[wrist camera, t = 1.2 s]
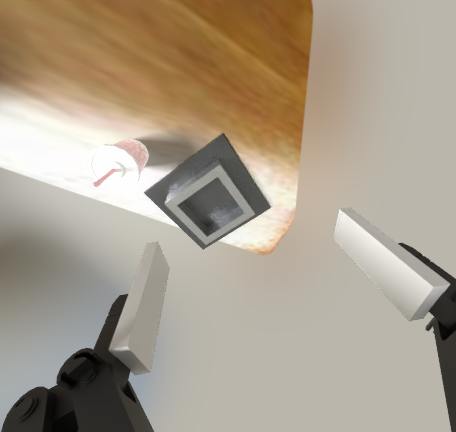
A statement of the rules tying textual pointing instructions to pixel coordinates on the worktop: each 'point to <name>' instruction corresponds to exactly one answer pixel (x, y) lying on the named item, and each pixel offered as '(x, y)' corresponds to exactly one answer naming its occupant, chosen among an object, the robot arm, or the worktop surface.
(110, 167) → the beverage cup
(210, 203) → the socket holder
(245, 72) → the worktop surface
